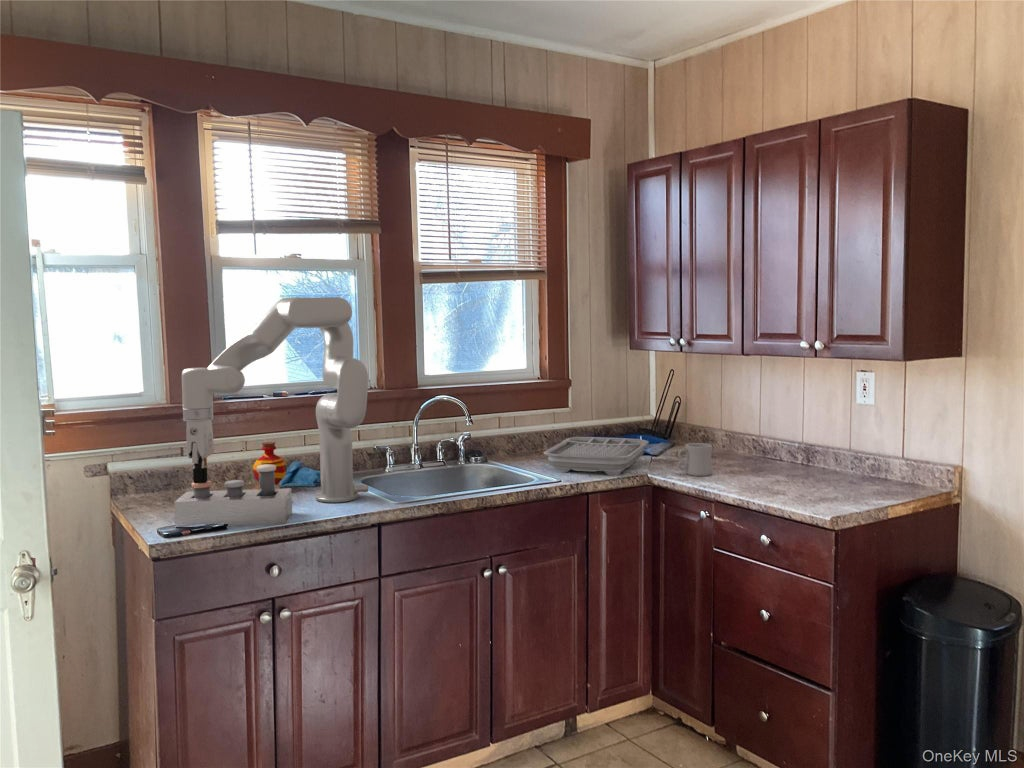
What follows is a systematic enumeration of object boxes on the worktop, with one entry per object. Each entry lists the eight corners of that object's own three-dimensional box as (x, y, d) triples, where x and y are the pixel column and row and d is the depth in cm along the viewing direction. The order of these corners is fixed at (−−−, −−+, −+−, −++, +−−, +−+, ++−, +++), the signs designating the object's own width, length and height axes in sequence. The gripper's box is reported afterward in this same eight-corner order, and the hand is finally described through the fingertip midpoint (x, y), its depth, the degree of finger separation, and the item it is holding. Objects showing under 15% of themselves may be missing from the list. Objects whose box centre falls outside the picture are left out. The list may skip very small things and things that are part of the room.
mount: (292, 512, 228) (291, 488, 228) (285, 523, 216) (284, 497, 216) (187, 516, 225) (186, 491, 224) (175, 528, 213) (174, 501, 212)
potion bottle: (250, 488, 260) (248, 441, 258) (283, 485, 265) (282, 439, 263) (256, 495, 251) (254, 446, 249) (290, 491, 255) (289, 443, 254)
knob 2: (278, 493, 224) (277, 464, 223) (275, 497, 219) (274, 467, 218) (259, 493, 223) (258, 464, 222) (256, 497, 218) (255, 468, 218)
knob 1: (214, 509, 222) (213, 480, 221) (210, 513, 217) (208, 484, 216) (195, 509, 221) (194, 480, 221) (190, 514, 217) (189, 484, 216)
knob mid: (246, 508, 223) (245, 479, 222) (243, 513, 218) (242, 483, 217) (228, 509, 223) (226, 480, 222) (223, 513, 218) (222, 484, 217)
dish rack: (538, 474, 280) (538, 451, 279) (570, 455, 314) (570, 435, 314) (628, 480, 269) (628, 456, 268) (651, 460, 303) (651, 439, 302)
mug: (704, 470, 282) (704, 442, 281) (717, 475, 274) (717, 446, 273) (671, 472, 279) (671, 443, 278) (683, 478, 270) (683, 448, 269)
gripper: (205, 417, 210) (208, 488, 211) (219, 410, 225) (221, 476, 226) (175, 418, 209) (178, 488, 211) (191, 411, 224) (193, 477, 225)
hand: (200, 482), depth 218 cm, fingers closed
